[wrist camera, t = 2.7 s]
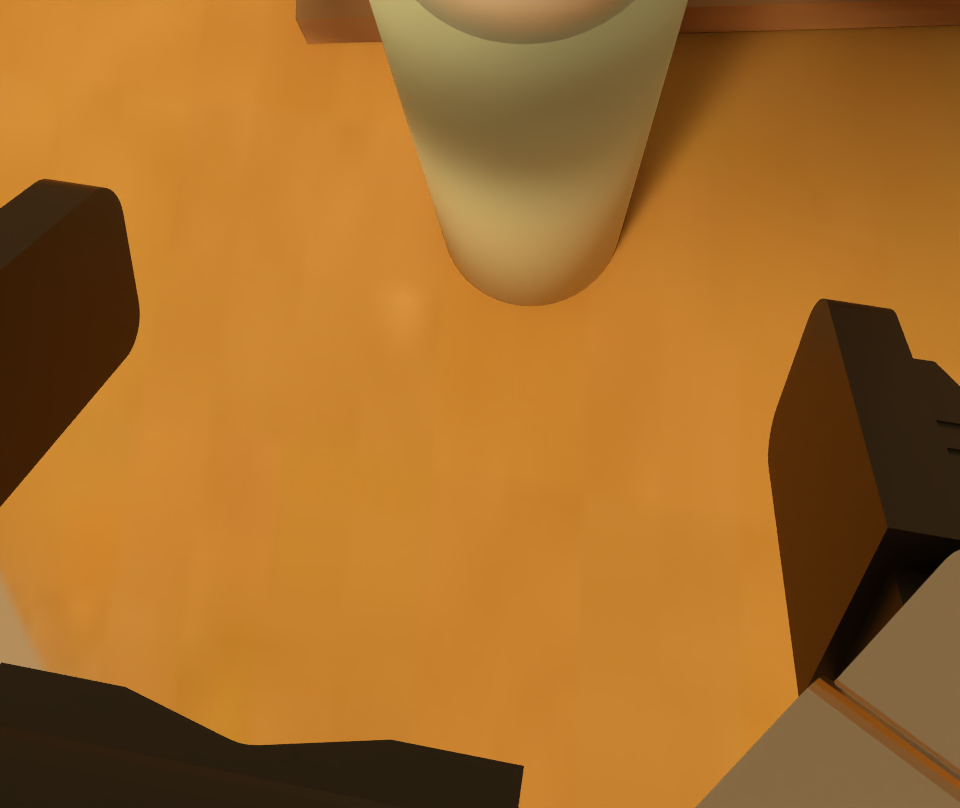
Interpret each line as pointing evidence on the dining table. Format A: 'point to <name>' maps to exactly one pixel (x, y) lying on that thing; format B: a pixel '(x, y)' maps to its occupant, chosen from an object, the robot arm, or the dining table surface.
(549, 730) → the dining table surface
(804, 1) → the cruet stand
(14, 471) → the robot arm
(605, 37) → the salt mill
